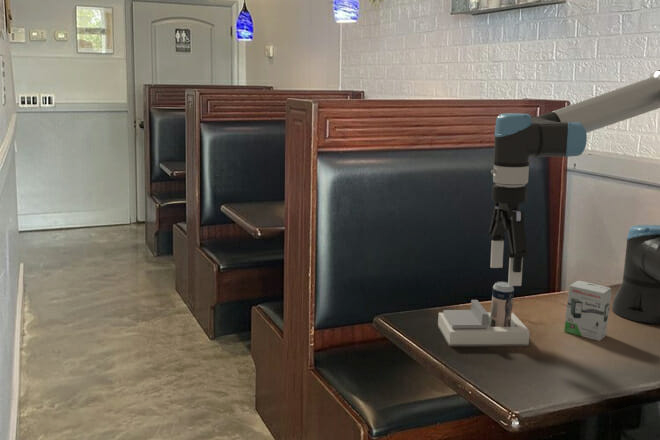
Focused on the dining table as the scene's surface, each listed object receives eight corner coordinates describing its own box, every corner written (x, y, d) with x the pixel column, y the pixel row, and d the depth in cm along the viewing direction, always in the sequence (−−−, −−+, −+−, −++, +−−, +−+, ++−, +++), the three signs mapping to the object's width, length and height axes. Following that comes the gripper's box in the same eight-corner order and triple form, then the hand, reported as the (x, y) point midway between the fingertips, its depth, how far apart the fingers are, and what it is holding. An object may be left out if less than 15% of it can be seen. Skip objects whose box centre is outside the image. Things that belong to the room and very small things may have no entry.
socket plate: (511, 325, 166) (512, 312, 166) (528, 345, 155) (529, 331, 154) (437, 326, 165) (438, 312, 164) (449, 346, 154) (450, 331, 153)
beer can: (510, 338, 158) (515, 288, 155) (488, 336, 158) (493, 286, 155) (508, 330, 162) (513, 281, 159) (488, 328, 163) (492, 280, 160)
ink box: (562, 331, 163) (567, 284, 161) (570, 326, 167) (575, 279, 164) (599, 341, 158) (605, 292, 155) (607, 335, 162) (612, 287, 159)
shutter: (476, 313, 164) (477, 299, 163) (487, 328, 154) (488, 314, 154) (443, 313, 163) (443, 300, 163) (452, 328, 154) (453, 314, 153)
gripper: (478, 175, 164) (474, 261, 169) (510, 195, 140) (505, 294, 145) (509, 174, 165) (504, 260, 169) (547, 194, 140) (540, 293, 145)
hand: (505, 276), depth 157 cm, fingers open, 13 cm apart
